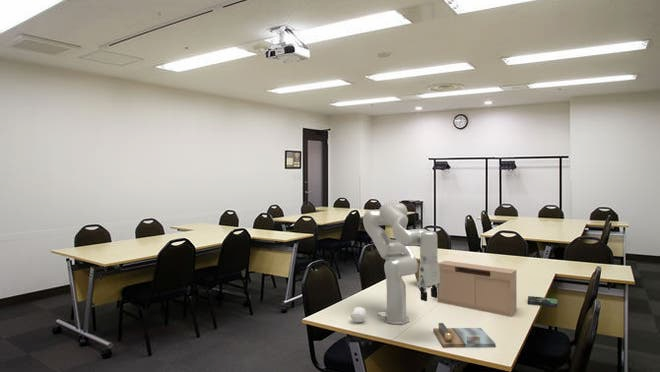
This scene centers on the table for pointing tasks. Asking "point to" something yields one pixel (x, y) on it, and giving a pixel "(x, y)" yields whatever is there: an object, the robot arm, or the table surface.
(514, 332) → the table surface
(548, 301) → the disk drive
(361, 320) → the white ball
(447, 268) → the box
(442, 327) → the lock bar
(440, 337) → the plate
